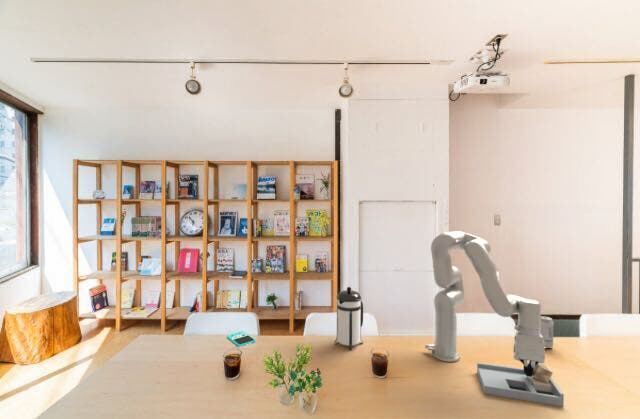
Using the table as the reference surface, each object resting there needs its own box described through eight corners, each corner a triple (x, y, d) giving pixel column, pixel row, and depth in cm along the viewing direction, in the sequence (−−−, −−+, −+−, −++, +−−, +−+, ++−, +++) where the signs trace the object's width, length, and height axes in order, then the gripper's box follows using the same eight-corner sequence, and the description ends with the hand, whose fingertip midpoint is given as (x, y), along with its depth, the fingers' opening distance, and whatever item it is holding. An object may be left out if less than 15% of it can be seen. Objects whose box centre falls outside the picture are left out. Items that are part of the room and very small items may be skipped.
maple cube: (534, 377, 127) (538, 366, 127) (529, 371, 132) (534, 360, 131) (547, 383, 126) (552, 372, 125) (543, 377, 131) (548, 366, 130)
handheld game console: (243, 332, 181) (243, 330, 181) (256, 342, 169) (256, 340, 169) (226, 337, 175) (226, 335, 175) (239, 348, 163) (239, 345, 163)
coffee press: (366, 351, 159) (367, 291, 158) (334, 350, 159) (335, 290, 158) (362, 336, 176) (363, 282, 175) (333, 336, 176) (334, 282, 176)
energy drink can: (548, 350, 160) (548, 320, 160) (535, 345, 166) (536, 316, 166) (555, 348, 163) (556, 319, 162) (543, 343, 168) (543, 315, 168)
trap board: (484, 393, 124) (484, 382, 124) (477, 372, 139) (477, 362, 139) (563, 406, 116) (563, 394, 116) (546, 382, 132) (546, 372, 132)
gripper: (510, 331, 128) (509, 377, 128) (554, 336, 124) (553, 383, 124) (505, 324, 135) (505, 367, 136) (547, 329, 131) (546, 373, 131)
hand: (528, 375), depth 130 cm, fingers closed
